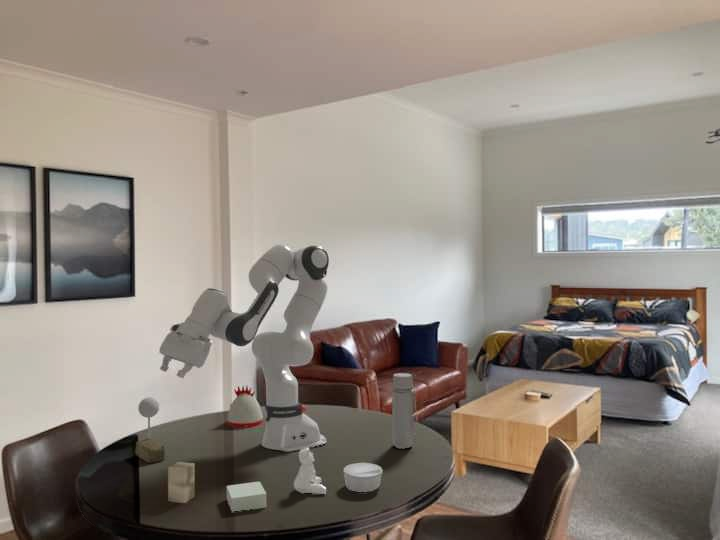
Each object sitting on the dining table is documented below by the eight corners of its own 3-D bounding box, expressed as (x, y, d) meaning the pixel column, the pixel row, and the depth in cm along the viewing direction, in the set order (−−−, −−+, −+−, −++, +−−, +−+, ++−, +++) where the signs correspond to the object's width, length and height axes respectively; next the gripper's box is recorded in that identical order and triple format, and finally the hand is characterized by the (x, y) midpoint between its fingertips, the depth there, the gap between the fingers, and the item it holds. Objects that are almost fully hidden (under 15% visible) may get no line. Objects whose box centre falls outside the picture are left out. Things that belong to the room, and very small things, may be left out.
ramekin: (369, 498, 162) (369, 479, 162) (335, 490, 168) (335, 471, 168) (389, 485, 172) (389, 467, 172) (356, 477, 178) (356, 460, 178)
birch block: (178, 494, 165) (178, 461, 165) (194, 496, 164) (194, 463, 164) (168, 501, 160) (168, 468, 160) (185, 503, 159) (184, 469, 159)
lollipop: (163, 437, 218) (163, 396, 218) (150, 442, 211) (150, 400, 211) (147, 435, 220) (147, 394, 220) (134, 440, 213) (133, 399, 213)
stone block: (148, 465, 189) (148, 449, 189) (134, 456, 197) (134, 441, 197) (166, 460, 193) (166, 445, 193) (151, 452, 201) (151, 437, 201)
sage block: (259, 495, 165) (259, 481, 164) (266, 508, 156) (266, 493, 156) (226, 500, 161) (226, 485, 161) (231, 513, 153) (231, 498, 153)
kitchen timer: (229, 418, 243) (229, 382, 243) (263, 417, 245) (263, 381, 245) (225, 428, 230) (225, 389, 229) (261, 427, 231) (261, 388, 231)
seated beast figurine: (327, 495, 164) (327, 451, 164) (296, 498, 162) (296, 454, 162) (320, 482, 173) (320, 441, 173) (290, 486, 171) (290, 444, 171)
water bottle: (388, 449, 204) (388, 376, 204) (395, 442, 211) (396, 372, 211) (414, 452, 201) (414, 378, 200) (421, 445, 208) (421, 374, 207)
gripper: (220, 344, 184) (197, 385, 179) (183, 333, 197) (161, 371, 192) (206, 334, 179) (182, 376, 175) (169, 324, 193) (146, 363, 188)
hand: (171, 373), depth 183 cm, fingers open, 8 cm apart
